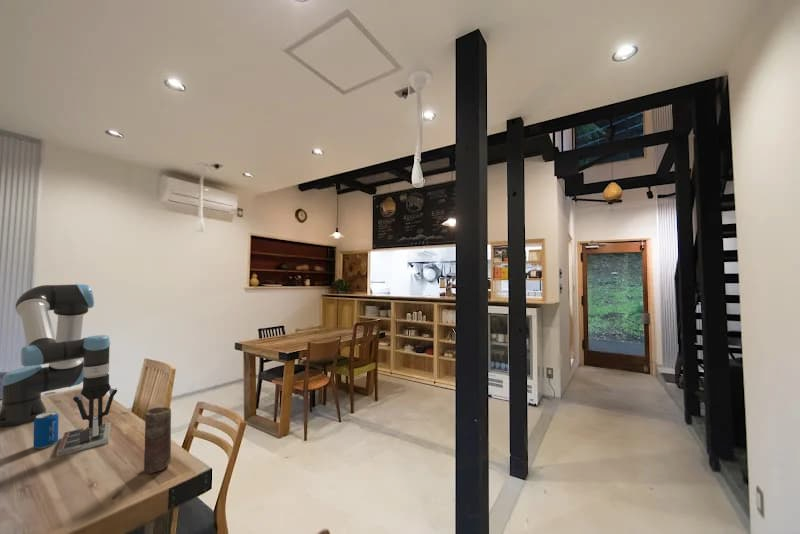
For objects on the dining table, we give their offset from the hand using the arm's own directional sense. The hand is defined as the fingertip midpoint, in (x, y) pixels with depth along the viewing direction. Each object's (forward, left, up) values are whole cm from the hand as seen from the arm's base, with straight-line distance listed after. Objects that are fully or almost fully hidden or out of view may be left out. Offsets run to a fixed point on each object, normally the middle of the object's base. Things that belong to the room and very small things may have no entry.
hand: (95, 434), depth 125 cm
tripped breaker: (0, -3, -1) cm, 3 cm away
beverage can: (-11, -15, -4) cm, 19 cm away
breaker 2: (-6, 0, -1) cm, 6 cm away
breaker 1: (-12, 0, -1) cm, 12 cm away
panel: (-6, -3, -4) cm, 7 cm away
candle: (+36, +18, -4) cm, 40 cm away
